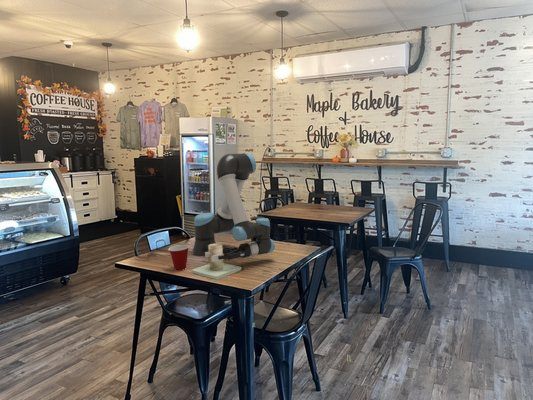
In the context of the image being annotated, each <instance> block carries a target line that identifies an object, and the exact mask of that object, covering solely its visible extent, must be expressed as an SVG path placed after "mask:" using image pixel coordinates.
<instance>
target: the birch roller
mask: <svg viewBox="0 0 533 400" xmlns="http://www.w3.org/2000/svg"><path fill="white" fill-rule="evenodd" d="M208 247H209V258H208V264H209V269H210V270H220V269H223V263H224V259H223V260H218V261H212V260H211V256H214V255H219V254H223V250H222V248H223V244H222V243H219V242H218V243H217V242H216V243H215V244H210V245H208Z"/></svg>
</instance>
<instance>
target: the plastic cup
mask: <svg viewBox="0 0 533 400" xmlns="http://www.w3.org/2000/svg"><path fill="white" fill-rule="evenodd" d="M189 248H190V245H188V244H177V245H174V246H173V245H172V246H170V247H169V248H168V252H169V254H170V256H171V260H172V264H173V268H174V270H175V269H176V270H175V271H178V270H180V271H184V270H186V269H185V268H187V263H188V254H189ZM183 269H184V270H183Z"/></svg>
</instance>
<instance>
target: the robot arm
mask: <svg viewBox="0 0 533 400" xmlns="http://www.w3.org/2000/svg"><path fill="white" fill-rule="evenodd" d="M256 169H257V162H256V158H255V157H254V155H253V154H251V153H248V152H247V153H246V152H243V153H226V154H224V155H223V156H221V158H220V159H219V160H218V162H217V165H216V175H217V179H218V182H220V183H221V186H222V190H223V192H224V197H223V199H222V203H221V206H220V207H219V208H217V211H216V213H215V214H214V213H213V212H203V213H200V214H197V215H195V217H194V218H193V219H194V222H193V225H194V244H193V248H192V254H193V255H194V256H198V257H199V256H200V257H201V256H204V258H207V259H209V247H208V245H210V244H215V243H217V242H216V238H215V235H216V234H221V233H227V232H231V231H232V237H233V239H234V240H235V241H237V242H240V241H242V242H243V241H246V240H249V239H250V240H251V239H252V238H256V239H257V241H254V242H251V241H248V242H245V243H241V244H239V246H238V247H237V246H236V247H234V246H229V247H222V250H223V254H219V255H214V256H211V260H212V261H218V260H223V261H224V260H227V261H231V260H235V259H239V258H243V259H244V258H249V257H252V258H254V257H255V256H258V255H259V256H261V255H267V254H270V253H273V252H274V251H275V249H276V244H275V240H273V239H271V225H270V224H271V223H270V222H271V221H270V219H269V218H266V217H264V218H259V219H256V221H255V223H249V219H248V217H247V216H248V215H247V214H246V213H247V212H246V210H245V207H244V204H243V201H242V197H241V193H242V189H243V187H244V183H245V181H248V179H249V177H250V175H251V174H253V173H255V172H256Z"/></svg>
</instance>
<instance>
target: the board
mask: <svg viewBox="0 0 533 400" xmlns="http://www.w3.org/2000/svg"><path fill="white" fill-rule="evenodd" d="M240 271H242V267H241V266H237V265H234V264H231V263H230V264H229V263H224V262H223V269H220V270H210V269H209V263H208V264H204V265H202V266H198V267H195V268H193V269H191V270H190V273H191V272H192V273H191V274H194V273H195V275H197V274H198V275H197V276H202V277H204V278H209V279H213V280H219V279H222V278H224V277H227V276H229V275H232V274H234V273H237V272H240Z"/></svg>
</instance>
